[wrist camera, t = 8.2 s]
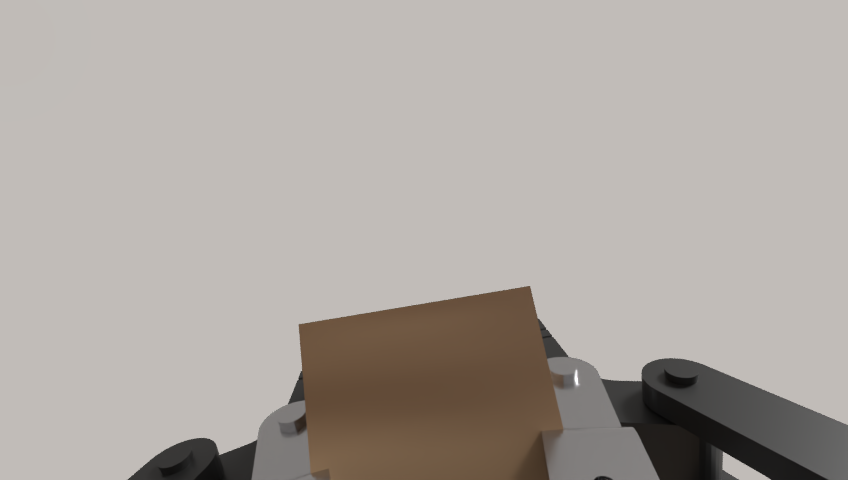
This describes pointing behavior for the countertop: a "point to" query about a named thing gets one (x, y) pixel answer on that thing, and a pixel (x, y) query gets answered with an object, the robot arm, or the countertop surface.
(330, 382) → the wooden square beam
